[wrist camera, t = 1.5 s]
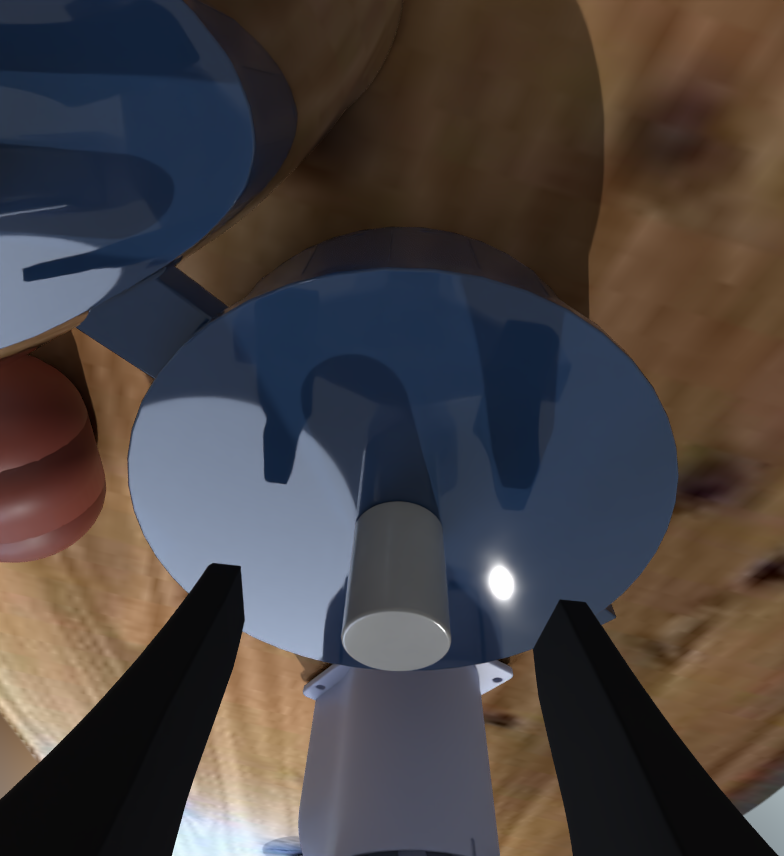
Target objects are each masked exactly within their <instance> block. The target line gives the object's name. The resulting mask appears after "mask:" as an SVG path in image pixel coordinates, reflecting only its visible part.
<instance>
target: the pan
mask: <svg viewBox="0 0 784 856" xmlns="http://www.w3.org/2000/svg"><path fill="white" fill-rule="evenodd" d="M380 261H404V262H434V263H440V264H446V265H453V266H459V267H465V268H471V269H477V270H482V271H485V272H488V273H491V274H495V275H498V276H501V277H504V278H508V279H511V280H514V281H517V282H521V283H524V284H526V285H528V286H530V287H532V288H535V289H537V290H539V291H541V292H543V293H545V294H547V295H549V296H552V297H554V298H556V299H558V300H560V299H559V298H558V297H557V296H556V294H555V293H554V292H553V290H552V289H551V288H550V287H549V286H548V285H547V284H546V283H545V282H544V281H543V280H541V278H540V277H539V276H538V275H537V274H536V273H535V272H534V271H533V270H531V269H530V268H528V267H526V266H525V265H523V264H522V263H520V262H519V261H517V260H516V259H514V258H513V257H511V256H510V255H508V254H507V253H505V252H503V251H500V250H498V249H496V248H494V247H492V246H490V245H488V244H486V243H484V242H482V241H479V240H476V239H472V238H469V237H466V236H463V235H460V234H457V233H453V232H447V231H441V230H436V229H430V228H424V227H385V228H376V229H367V230H361V231H357V232H353V233H349V234H345V235H341V236H337V237H334V238H331V239H329V240H326V241H324V242H322V243H319V244H317V245H314V246H312V247H309V248H307V249H305V250H304V251H302V252H300V253H299V254H297V255H295V256H294V257H292V258H290V259H289V260H287V261H285V262H284V263H282V264H281V265H280V266H279V267H277V268H276V269H275V270H274V271H273V272H271V273H270V274H268V275H266V276H265V277H263V278H262V279H261V280H260V281H259V282H258V283H257V284H256V286H255V287H254V288H253V290H252V291H251V292H250V294H252V293H254V292H257V291H259V290H262V289H264V288H267V287H269V286H272V285H274V284H277V283H279V282H282V281H284V280H287V279H289V278H292V277H295V276H299V275H303V274H307V273H311V272H315V271H319V270H323V269H327V268H331V267H335V266H342V265H351V264H361V263H370V262H380ZM250 294H249V295H250ZM249 295H248V296H249ZM560 301H561V300H560ZM226 308H228V306H227V305H225V304H224V303H223V302H221V301H220V300H219V299H217V298H216V297H215V296H213V295H212V294H211V293H210V292H208V291H207V290H206V289H204V288H203V287H202V286H200V285H199V284H198V283H196V282H195V281H194V280H192V279H191V278H190V277H188V276H187V275H186V274H184V273H183V272H182V271H181V270H179V269H178V268H177V267H175V266H174V267H173V268H171V269H170V270H168V271H167V272H165V273H164V274H162V275H161V276H159V277H158V278H156V279H155V280H153V281H152V282H150V283H149V284H147V285H146V286H144V287H143V288H141V289H140V290H138V291H137V292H135V293H133V294H132V295H130V296H129V297H127V298H126V299H124V300H122V301H121V302H119V303H118V304H116V305H114V306H112V307H111V308H109V309H107V310H105V311H103V312H102V313H100V314H98V315H96V316H95V317H93V318H91V319H89V320H87V321H86V322H84V323H82V324H80V325H79V326H77V327H76V328H77V329H79V330H80V331H82V332H83V333H85V334H86V335H88V336H89V337H91V338H92V339H94V340H96V341H97V342H99V343H100V344H102V345H103V346H105V347H106V348H108V349H109V350H111V351H112V352H114V353H115V354H117V355H118V356H120V357H122V358H123V359H125V360H126V361H128V362H129V363H131V364H132V365H134V366H135V367H137V368H138V369H140V370H141V371H143V372H145V373H146V374H148V375H149V376H151V377H152V378H154V379H155V377H156V376H157V374H158V372H159V371H160V370H161V369H162V368H163V366H164V365H165V364H166V363H167V362H168V361H169V360H170V358H171V357H172V356H173V355H174V354H175V353H176V351H177V350H178V349H179V348H180V347H181V346H182V344H183V343H184V342H185V341H186V340H187V339H188V338H189V337H190V336H191V335H192V334H194V333H195V332H196V331H197V330H198V329H200V328H201V327H202V326H203V325H204V324H206V323H207V322H208V321H209V320H211V319H212V318H213V317H214V316H215V315H217V314H218V313H220V312H221V311H223V310H225V309H226ZM596 618H597V619H598V621H599V622H600V624H601V625H602V624H604V623H606V622H609V621H611V620H613V619H615V618H616V615H615V612H614V610H613V607H612V605H611V604H610V605H609V606H608V607H607V608H606V609H604V610H603V611H602V612H600V613H599V614H597V615H596Z"/></svg>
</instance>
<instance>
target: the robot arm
mask: <svg viewBox="0 0 784 856" xmlns="http://www.w3.org/2000/svg"><path fill="white" fill-rule="evenodd" d="M244 622H245V614H244V601H243V588H242V575H241V566H238V565H228V564H219V563H212V564H210V565H208V567H207V568H206V570H205V571H204V573H203V574H202V576H201V577H200V578H199V580H198V581H197V583H196V584H195V586H194V587H193V588H192V590H191V591H190V593H189V594H188V595H187V597H186V598H185V599H184V601H183V602H182V603H181V605H180V606H179V607H178V609H177V610H176V611H175V613H174V614H173V615H172V616H171V618H170V619H169V620H168V622H167V623H166V624H165V625H164V627H163V628H162V629H161V630H160V632H159V633H158V634H157V635H156V636H155V638H154V639H153V640H152V641H151V643H150V644H149V645H148V646H147V648H146V649H145V650H144V651H143V652H142V654H141V655H140V656H139V657H138V658H137V660H136V661H135V662H134V663H133V664H132V665H131V667H130V668H129V669H128V670H127V671H126V672H125V673H124V674H123V676H122V677H121V678H120V679H119V680H118V681H117V682H116V683H115V684H114V686H113V687H112V688H111V689H110V690H109V691H108V692H107V693H106V695H105V696H104V697H103V698H102V699H101V700H100V701H99V702H98V703H97V705H96V706H95V707H94V708H93V709H92V710H91V711H90V712H89V713H88V714H87V715H86V716H85V717H84V718H83V719H82V720H81V721H80V722H79V724H78V725H77V726H76V727H75V728H74V729H73V730H72V731H71V732H70V733H69V734H68V735H67V736H66V737H65V738H64V739H63V740H62V741H61V742H60V743H59V744H58V745H57V746H56V747H55V748H54V749H53V750H52V751H51V752H50V753H49V754H48V755H47V756H46V757H45V758H44V759H43V760H42V761H41V762H40V763H38V764H37V765H36V766H35V767H34V768H33V769H32V770H31V771H30V772H29V773H28V774H27V775H26V776H25V777H24V778H23V779H22V780H21V781H19V782H18V783H17V784H16V785H15V786H14V787H13V788H12V789H11V790H10V791H9V792H8V793H7V794H6V795H5V796H4V797H2V798H1V799H0V856H172V853H173V849H174V845H175V841H176V838H177V834H178V830H179V827H180V823H181V819H182V816H183V812H184V808H185V805H186V801H187V798H188V795H189V792H190V789H191V786H192V783H193V779H194V777H195V774H196V771H197V768H198V765H199V763H200V760H201V757H202V754H203V751H204V749H205V746H206V743H207V740H208V737H209V735H210V732H211V729H212V726H213V723H214V721H215V718H216V715H217V712H218V709H219V707H220V704H221V701H222V698H223V695H224V693H225V690H226V687H227V684H228V681H229V678H230V675H231V673H232V670H233V667H234V663H235V659H236V655H237V651H238V647H239V643H240V639H241V635H242V630H243V626H244ZM533 653H534V663H535V672H536V680H537V688H538V696H539V700H540V705H541V709H542V714H543V718H544V723H545V727H546V731H547V736H548V740H549V744H550V748H551V753H552V757H553V761H554V765H555V770H556V774H557V778H558V782H559V786H560V791H561V795H562V799H563V803H564V808H565V813H566V818H567V823H568V828H569V833H570V839H571V845H572V852H573V856H778V855H777V854H776V853H775V852H774V850H773V849H772V848H771V847H770V846H769V845H768V844H767V843H766V842H765V840H764V839H763V838H762V837H761V836H760V835H759V834H758V833H757V831H756V830H755V829H754V828H753V827H752V826H751V825H750V824H749V822H748V821H747V820H746V819H745V818H744V817H743V816H742V814H741V813H740V812H739V811H738V810H737V808H736V807H735V806H734V805H733V804H732V803H731V801H730V800H729V799H728V798H727V797H726V795H725V794H724V793H723V792H722V791H721V790H720V788H719V787H718V786H717V785H716V783H715V782H714V781H713V780H712V778H711V777H710V776H709V775H708V774H707V772H706V771H705V770H704V768H703V767H702V766H701V765H700V763H699V762H698V761H697V760H696V758H695V757H694V756H693V754H692V753H691V752H690V751H689V749H688V748H687V747H686V745H685V744H684V743H683V741H682V740H681V739H680V737H679V736H678V735H677V734H676V732H675V731H674V730H673V728H672V727H671V725H670V724H669V723H668V721H667V720H666V719H665V717H664V716H663V715H662V713H661V712H660V710H659V709H658V708H657V706H656V705H655V703H654V702H653V701H652V699H651V698H650V696H649V695H648V693H647V692H646V691H645V689H644V688H643V686H642V685H641V684H640V682H639V681H638V679H637V678H636V676H635V675H634V673H633V672H632V670H631V669H630V668H629V666H628V665H627V663H626V662H625V660H624V659H623V657H622V656H621V654H620V653H619V651H618V650H617V648H616V647H615V645H614V644H613V642H612V641H611V639H610V638H609V636H608V635H607V633H606V632H605V630H604V628H603V627H602V625H601V624H600V622H599V621H598V619H597V618H596V616H595V615H594V613H593V612H592V610H591V609H590V607H589V606H588V604H587V603H586V602H581V601H571V600H562V599H560V600H559V601H558V603H557V605H556V607H555V609H554V611H553V613H552V614H551V616H550V618H549V620H548V622H547V624H546V626H545V627H544V629H543V631H542V633H541V635H540V637H539V639H538V640H537V642H536V644H535V646H534V648H533ZM512 677H513V671H512V668H511V667H510V666H508V665H506V664H504V663H502V662H500V661H498V660H495V661H491V662H487V663H483V664H477V665H471V666H466V667H460V668H451V669H441V670H430V671H386V670H373V669H364V668H354V667H349V666H343V665H338V664H332V665H331V666H330V667H328V668H327V669H326V670H324V671H323V672H322V673H320V674H319V675H318V676H316V677H315V678H314V679H312V680H311V681H310V682H308V683H307V684H306V685H305V686H304V689H303V694H304V695H305V696H306V697H309V698H311V699H314V700H316V702H315V709H314V715H313V722H312V729H311V735H310V742H309V749H308V755H307V762H306V768H305V775H304V782H303V788H302V795H301V802H300V808H299V820H298V828H299V839H300V845H301V849H302V853H303V856H500V851H499V843H498V835H497V826H496V818H495V809H494V801H493V792H492V784H491V775H490V767H489V759H488V750H487V742H486V733H485V725H484V716H483V708H482V700H481V695H482V694H484V693H486V692H487V691H489V690H491V689H493V688H495V687H497V686H498V685H500V684H502V683H504V682H506V681H507V680H509V679H511V678H512Z"/></svg>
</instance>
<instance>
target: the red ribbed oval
mask: <svg viewBox="0 0 784 856" xmlns="http://www.w3.org/2000/svg"><path fill="white" fill-rule="evenodd" d="M105 494H106V481H105V473H104V470H103V466H102V462H101V459H100V455H99V452H98V448H97V444H96V441H95V437H94V434H93V430H92V426H91V423H90V419H89V416H88V412H87V408H86V407H85V404H84V402H83V400H82V397H81V395H80V393H79V392H78V390H77V389H76V388H75V386H74V385H73V384H72V382H71V381H70V380H69V379H68V378H67V377H65V376H64V375H63V374H62V373H61V372H60V371H58V370H57V369H56V368H54V367H53V366H51V365H49V364H47V363H45V362H43V361H41V360H40V359H38V358H36V357H32V356H29V355H25V356H23V357H22V358H20V359H18V360H16V361H14V362H13V363H11V364H9V365H7V366H6V367H4V368H2V369H0V562H28V561H34V560H38V559H42V558H46V557H48V556H51V555H54V554H56V553H58V552H60V551H62V550H64V549H66V548H68V547H69V546H71V545H72V544H74V543H75V542H76V541H77V540H79V539H80V538H81V537H82V536H83V535H84V534H85V533H86V532H87V531H88V530H89V529H90V528H91V527H92V525H93V524H94V523H95V521H96V519H97V517H98V515H99V514H100V512H101V510H102V507H103V504H104V500H105Z"/></svg>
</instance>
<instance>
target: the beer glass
mask: <svg viewBox="0 0 784 856" xmlns="http://www.w3.org/2000/svg"><path fill="white" fill-rule="evenodd" d="M403 1H404V0H0V369H2V368H4V367H6V366H7V365H9V364H11V363H13V362H14V361H16V360H18V359H20V358H22V357H23V356H25V355H27V354H29V353H30V352H32V351H34V350H36V349H38V348H39V347H41V346H43V345H45V344H47V343H48V342H50V341H52V340H54V339H55V338H57V337H59V336H61V335H63V334H64V333H66V332H68V331H70V330H71V329H73V328H75V327H77V326H79V325H80V324H82V323H84V322H86V321H87V320H89V319H91V318H93V317H95V316H96V315H98V314H100V313H102V312H103V311H105V310H107V309H109V308H111V307H112V306H114V305H116V304H118V303H119V302H121V301H122V300H124V299H126V298H127V297H129V296H130V295H132V294H133V293H135V292H137V291H138V290H140V289H141V288H143V287H144V286H146V285H147V284H149V283H150V282H152V281H153V280H155V279H156V278H158V277H159V276H161V275H162V274H164V273H165V272H167V271H168V270H170V269H171V268H173V267H174V266H176V265H177V264H179V263H180V262H182V261H183V260H185V259H186V258H188V257H189V256H191V255H192V254H194V253H195V252H197V251H198V250H200V249H201V248H203V247H204V246H206V245H207V244H209V243H210V242H212V241H213V240H215V239H216V238H218V237H219V236H220V235H222V234H223V233H224V232H226V231H227V230H229V229H230V228H231V227H233V226H234V225H235V224H237V223H238V222H239V221H240V220H242V219H243V218H244V217H245V216H246V215H248V214H249V213H250V212H251V211H253V210H254V209H255V208H256V207H257V206H258V205H259V204H260V203H261V202H262V201H263V200H264V199H266V198H267V197H268V196H269V195H270V194H271V193H272V192H273V191H274V190H275V189H276V188H277V187H278V186H279V185H280V184H281V183H282V182H283V181H284V180H285V179H286V178H287V177H288V176H289V175H290V174H291V173H292V172H293V171H294V170H295V169H296V168H297V167H298V166H299V165H300V164H301V163H302V162H303V161H304V160H305V159H306V158H307V156H308V155H309V154H310V153H311V152H312V151H313V150H314V149H315V148H316V147H317V145H318V144H319V143H320V142H321V141H322V140H323V139H324V137H325V136H326V135H327V134H328V132H329V131H330V130H331V128H332V127H333V126H334V125H335V123H336V122H337V121H338V119H339V118H340V116H341V115H342V114H343V112H344V111H345V110H346V109H347V108H348V107H349V106H351V105H352V104H353V103H354V102H355V101H356V100H357V99H358V98H359V97H360V96H361V95H362V94H363V93H364V92H365V90H366V89H367V88H368V87H369V85H370V84H371V83H372V81H373V80H374V78H375V77H376V75H377V74H378V72H379V71H380V69H381V67H382V65H383V64H384V62H385V60H386V58H387V56H388V53H389V51H390V49H391V46H392V44H393V41H394V38H395V35H396V32H397V29H398V25H399V21H400V17H401V13H402V7H403Z"/></svg>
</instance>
